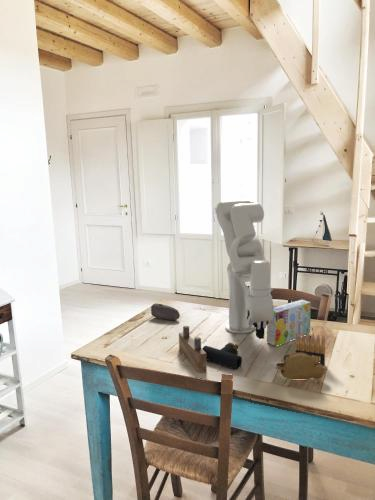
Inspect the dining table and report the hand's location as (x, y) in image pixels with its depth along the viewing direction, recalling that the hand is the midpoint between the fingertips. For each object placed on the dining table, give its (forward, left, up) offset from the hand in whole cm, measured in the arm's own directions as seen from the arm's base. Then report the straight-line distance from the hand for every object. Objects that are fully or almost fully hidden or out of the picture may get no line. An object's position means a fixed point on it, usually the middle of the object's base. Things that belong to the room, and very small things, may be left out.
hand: (260, 337), depth 158 cm
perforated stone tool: (+23, -50, -7) cm, 55 cm away
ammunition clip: (-12, +15, -7) cm, 20 cm away
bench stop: (+27, -5, -6) cm, 28 cm away
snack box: (-18, -7, -7) cm, 21 cm away
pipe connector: (+15, 0, -7) cm, 16 cm away
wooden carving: (-2, +23, -7) cm, 24 cm away
